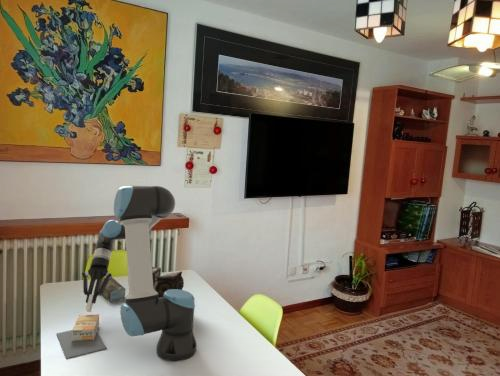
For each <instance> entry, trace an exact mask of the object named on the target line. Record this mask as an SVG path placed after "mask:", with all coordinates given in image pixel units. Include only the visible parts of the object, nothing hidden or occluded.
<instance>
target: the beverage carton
mask: <svg viewBox="0 0 500 376" xmlns="http://www.w3.org/2000/svg"><path fill="white" fill-rule="evenodd" d="M105 278H106V277H104V278H103V279H102V280H101V283H100V287H99V289H100V288H101V286H102V284H103V282H104V280H105ZM101 296H103V297H104V298H105V299H106V300H107V301H108V302H109V303H114V302H118V301H123V300H124V301H125V298H126V288H125V287H124V286H123V285H122V284H120V283H119V282H118V281H117V280H116V279H114V277H112V278H111V279H110V280H109V282H108V284H107V286H106V288H105V290H104V292H103V294H102V295H101Z"/></svg>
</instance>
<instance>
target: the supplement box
mask: <svg viewBox="0 0 500 376" xmlns="http://www.w3.org/2000/svg"><path fill="white" fill-rule="evenodd" d="M99 327H100V313H99V314H97V313H95V314H80V315H78V317H77V319H76V321H75V323H74V325H73V327H72V329H71V330H72V341H83V340H94V338H95V335H96V332H98V329H99Z"/></svg>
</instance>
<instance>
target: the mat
mask: <svg viewBox="0 0 500 376" xmlns="http://www.w3.org/2000/svg"><path fill="white" fill-rule="evenodd" d="M56 336H57V338H58V341H59V343H60V345H61V349H62V352H63V351H64V352H63V354H64V356H66V357H65V359H66V360H68V359H73V358H77V357H80V356H83V355H87V354H92V353H95V352H100V351H103V350H107V349H108V347H107V346H106V344H105V343H104V341H103V339H102V337H101V336H100V334H99V332H98V331H97V332H96V335H95V338H94V340H83V341H72V329H71V330H66V331H61V332H56ZM67 358H68V359H67Z"/></svg>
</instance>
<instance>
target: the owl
mask: <svg viewBox="0 0 500 376" xmlns="http://www.w3.org/2000/svg"><path fill="white" fill-rule="evenodd" d="M182 273H183V271H182V270H181V271H177V272H170V273H166V274H163V275H161V276H160V277H159V276H158V277H157V284H156V292H157V293H158V298H160V297H164V296H163V295H164V292H165V291H167V290H170V289H179V290H183V288H184V287H185V285H184V283H185V282H184V278H183V276H182Z"/></svg>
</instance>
